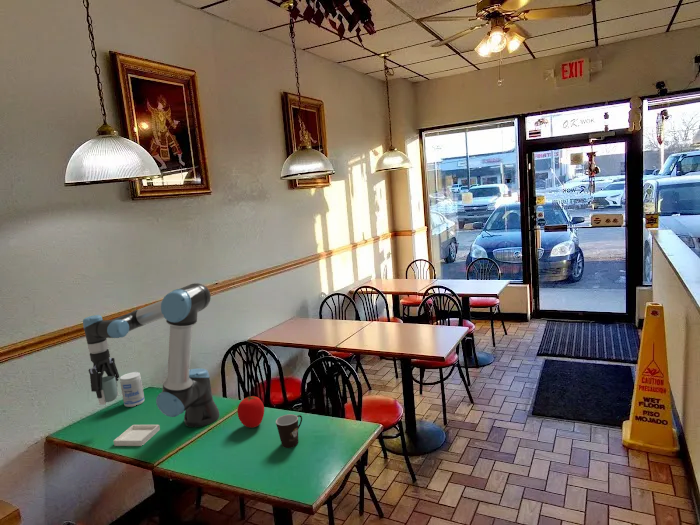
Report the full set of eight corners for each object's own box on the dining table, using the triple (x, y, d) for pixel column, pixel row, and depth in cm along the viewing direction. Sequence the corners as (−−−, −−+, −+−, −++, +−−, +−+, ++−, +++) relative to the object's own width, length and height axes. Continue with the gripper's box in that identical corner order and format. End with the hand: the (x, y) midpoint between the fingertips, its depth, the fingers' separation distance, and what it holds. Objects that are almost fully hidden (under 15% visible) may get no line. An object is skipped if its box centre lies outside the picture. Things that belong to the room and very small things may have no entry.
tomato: (248, 435, 197) (243, 406, 195) (235, 427, 205) (231, 399, 203) (271, 424, 204) (267, 396, 202) (258, 416, 212) (254, 389, 210)
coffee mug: (283, 452, 181) (280, 427, 180) (276, 442, 189) (272, 419, 187) (311, 442, 186) (308, 418, 185) (303, 432, 194) (300, 409, 192)
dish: (160, 429, 210) (159, 424, 210) (142, 445, 197) (141, 440, 197) (133, 429, 213) (132, 424, 212) (114, 445, 200) (113, 440, 200)
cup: (111, 404, 208) (106, 382, 206) (95, 404, 209) (91, 383, 208) (123, 396, 215) (118, 375, 213) (108, 396, 217) (103, 375, 215)
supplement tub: (126, 409, 235) (120, 381, 232) (122, 403, 242) (117, 376, 240) (147, 402, 240) (142, 375, 238) (142, 396, 248) (137, 370, 245)
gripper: (107, 343, 219) (117, 389, 223) (73, 360, 199) (85, 411, 203) (121, 342, 218) (131, 389, 221) (89, 359, 198) (100, 410, 201)
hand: (109, 399), depth 212 cm, fingers closed on cup, 8 cm apart
